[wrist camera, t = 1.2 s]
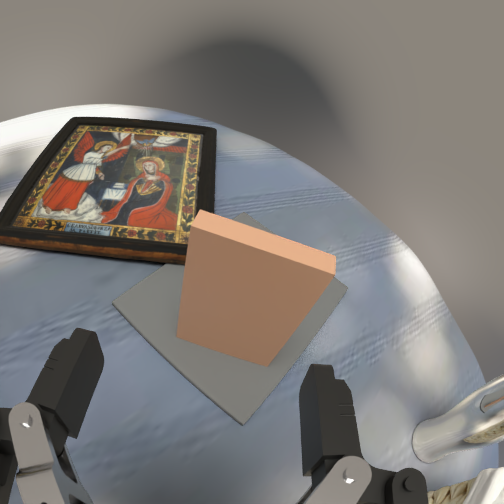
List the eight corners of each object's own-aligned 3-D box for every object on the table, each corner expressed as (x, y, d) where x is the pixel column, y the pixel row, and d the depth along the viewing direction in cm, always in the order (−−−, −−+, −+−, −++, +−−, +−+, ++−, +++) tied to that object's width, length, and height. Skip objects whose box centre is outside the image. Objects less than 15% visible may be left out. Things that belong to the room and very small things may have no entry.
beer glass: (400, 441, 29) (498, 396, 18) (427, 406, 33) (514, 353, 22) (429, 476, 26) (529, 441, 15) (453, 439, 30) (542, 395, 19)
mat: (112, 304, 33) (111, 301, 32) (243, 214, 48) (243, 211, 48) (242, 425, 28) (243, 424, 27) (346, 290, 43) (348, 287, 43)
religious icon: (55, 125, 54) (54, 114, 52) (212, 130, 65) (215, 118, 63) (-16, 265, 30) (-23, 250, 28) (241, 271, 41) (247, 257, 39)
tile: (267, 366, 32) (335, 274, 21) (176, 337, 32) (190, 225, 20) (270, 350, 33) (336, 254, 22) (182, 321, 33) (200, 207, 22)
